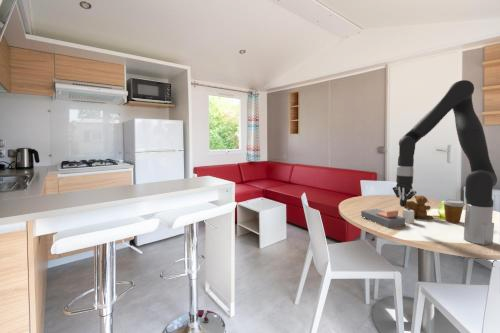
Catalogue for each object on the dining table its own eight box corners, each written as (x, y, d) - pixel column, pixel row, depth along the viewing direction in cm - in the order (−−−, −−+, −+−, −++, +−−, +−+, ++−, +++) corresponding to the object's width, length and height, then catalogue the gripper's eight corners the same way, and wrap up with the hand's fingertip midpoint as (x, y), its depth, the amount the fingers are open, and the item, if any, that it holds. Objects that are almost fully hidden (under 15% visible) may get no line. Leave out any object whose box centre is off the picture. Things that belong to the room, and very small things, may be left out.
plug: (413, 222, 143) (414, 208, 142) (408, 223, 142) (409, 209, 141) (407, 220, 147) (408, 206, 146) (402, 221, 146) (402, 207, 145)
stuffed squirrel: (434, 219, 148) (435, 197, 147) (410, 219, 148) (411, 198, 147) (423, 214, 158) (424, 193, 157) (400, 214, 158) (401, 194, 157)
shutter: (397, 216, 141) (398, 210, 141) (388, 218, 139) (388, 211, 138) (385, 212, 149) (385, 206, 149) (376, 213, 147) (376, 208, 146)
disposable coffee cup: (451, 218, 149) (452, 198, 147) (467, 223, 139) (469, 202, 138) (437, 219, 147) (438, 199, 146) (453, 225, 138) (454, 203, 137)
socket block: (404, 224, 140) (405, 217, 139) (388, 227, 136) (388, 220, 136) (376, 214, 159) (376, 208, 158) (361, 217, 155) (361, 210, 155)
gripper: (422, 175, 127) (419, 209, 129) (399, 172, 139) (397, 202, 141) (411, 176, 124) (408, 210, 126) (388, 173, 137) (387, 204, 139)
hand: (402, 206), depth 134 cm, fingers closed
